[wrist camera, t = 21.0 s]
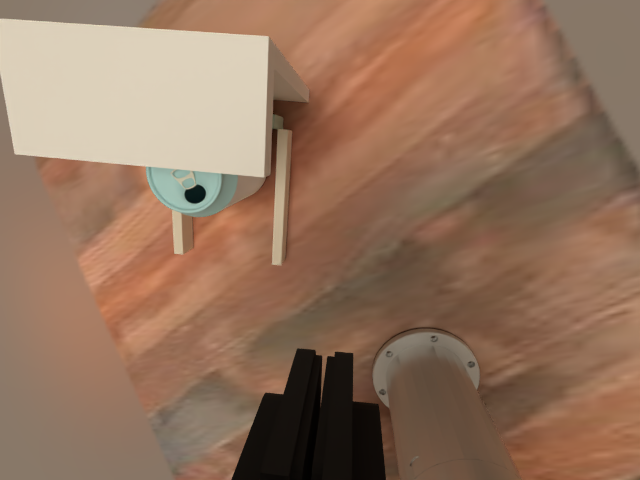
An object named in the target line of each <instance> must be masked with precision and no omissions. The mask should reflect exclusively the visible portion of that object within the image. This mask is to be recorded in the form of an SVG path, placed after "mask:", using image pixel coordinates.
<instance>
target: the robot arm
mask: <svg viewBox="0 0 640 480" xmlns="http://www.w3.org/2000/svg"><path fill="white" fill-rule="evenodd" d="M321 377H322V356H320V355H316V351H315V350H310V349H297V351H296V354H295V357H294V361H293V364H292V367H291V371H290V374H289V377H288V381H287V384H286V388H285V391H284V394H274V393H265V394H264V396H263V398H262V401H261V403H260V406H259V409H258V411H257V414H256V417H255V419H254V422H253V424H252V427H251V430H250V432H249V435H248V438H247V440H246V443H245V446H244V448H243V451H242V453H241V456H240V459H239V461H238V464H237V467H236V469H235V472H234V475H233V477H232V480H386V476H385V465H384V454H383V443H382V433H381V422H380V411H379V405H378V404H373V403H363V402H353V353H344V352H335V357H332V356H328V357H327V364H326V371H325V378H324V386H323V393H322V400H321ZM372 377H373V385H374V388H375V391H376V393H377V395H378V397H379V398H380V400H381V401H382V402H383V403H384V404H385V405H386V406H387V407H388V408H389V409H390V414H391V421H392V428H393V434H394V441H395V448H396V455H397V462H398V469H399V475H400V480H522V477H521V475H520V474H519V472H518V470H517V468H516V466H515V464H514V462H513V460H512V458H511V456H510V454H509V452H508V450H507V448H506V446H505V444H504V442H503V440H502V438H501V436H500V434H499V433H498V431H497V429H496V427H495V425H494V423H493V421H492V419H491V417H490V415H489V413H488V411H487V409H486V407H485V405H484V403H483V401H482V399H481V397H480V395H479V394H478V392H477V389H478V386H479V382H480V369H479V365H478V362H477V360H476V358H475V356H474V354H473V352H472V351H471V350H470V348H469V347H468V346H467V344H465V343H464V342H463V341H462V340H461V339H459V338H458V337H456V336H454V335H452V334H451V333H448V332H445V331H442V330H437V329H415V330H410V331H407V332H404V333H401V334H399V335H397V336H395V337H394V338H392V339H391V340H389V341H388V342H387V343H386V344H384V346H383V347H382V348H381V349H380V351H379V352H378V354H377V356H376V358H375V360H374V364H373V370H372ZM320 405H321V408H320Z"/></svg>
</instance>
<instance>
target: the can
mask: <svg viewBox="0 0 640 480" xmlns="http://www.w3.org/2000/svg"><path fill="white" fill-rule="evenodd" d="M146 175H147V180H148V183H149V186H150V188H151V190H152V191H153V193H154V195H155V196H156V197H157V198H158V200H160V201H161V202H162V203H163V204H164V205H165V206H167V207H168V208H170V209H172V210H174V211H177V212H180V213H182V214H185V215H188V216H193V217H206V216H210V215H213V214H216V213H218V212H220V211H221V210H223V209H225V208H227V207H229V206H231V205H233V204H235V203H237V202H239V201H241V200H243V199H245V198H247V197H249V196H251V195H253V194H254V193H255V192H257V191H258V190H259V189H260V188H261V186H262V185H263V183H264V181H265V179H266V177H254V176H243V175H232V174H222V173H211V172H200V171H190V170H179V169H168V168H158V167H147V166H146Z"/></svg>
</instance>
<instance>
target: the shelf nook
mask: <svg viewBox="0 0 640 480" xmlns="http://www.w3.org/2000/svg"><path fill="white" fill-rule="evenodd" d="M0 74H1V80H2V85H3V91H4V96H5V102H6V108H7V113H8V119H9V124H10V129H11V135H12V140H13V146H14V152H15V154H19V155H30V156H41V157H51V158H62V159H73V160H83V161H94V162H105V163H115V164H126V165H137V166H147V167H158V168H168V169H179V170H190V171H200V172H211V173H222V174H232V175H243V176H254V177H267V176H269V175H270V172H271V146H272V129H278V135H277V158H276V182H275V205H274V229H273V252H272V264H273V265H282V263H283V261H284V259H285V257H286V239H287V220H288V202H289V184H290V166H291V148H292V131H291V130H285V129H283V117H281V116H278V115H275V114H273V100H280V101H293V102H305V103H309V92H310V90H309V88H308V87H307V86H306V84H305V83H304V82H303V81H302V79H301V78H300V77H299V75H298V74H297V73H296V71H295V70H294V69H293V67H292V66H291V65H290V64H289V62H288V61H287V60H286V58H285V57H284V56H283V54H282V53H281V52H280V50H279V49H278V48H277V47H276V45H275V44H274V43H273V41H272V40H271V39H270V37H269V36H255V35H240V34H225V33H210V32H195V31H180V30H165V29H150V28H135V27H118V26H104V25H89V24H73V23H58V22H44V21H28V20H13V19H0ZM172 217H173V237H174V254H182V255H183V254H185V253H186V252H188V251H189V250H191V249H192V248H193V218H192V216H188V215H185V214H182V213H180V212H177V211H174V210H172Z"/></svg>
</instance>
